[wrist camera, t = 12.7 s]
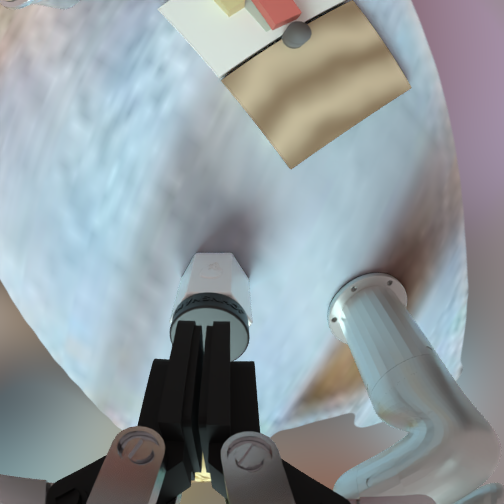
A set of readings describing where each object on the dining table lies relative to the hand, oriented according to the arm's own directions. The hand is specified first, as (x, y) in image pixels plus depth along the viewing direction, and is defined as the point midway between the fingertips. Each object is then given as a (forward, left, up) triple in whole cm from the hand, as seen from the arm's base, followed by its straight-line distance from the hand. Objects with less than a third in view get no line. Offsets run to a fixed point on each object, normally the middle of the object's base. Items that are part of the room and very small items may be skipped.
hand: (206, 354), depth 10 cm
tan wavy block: (+3, -15, -29) cm, 33 cm away
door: (+15, -15, -29) cm, 36 cm away
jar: (-10, +10, -29) cm, 33 cm away
